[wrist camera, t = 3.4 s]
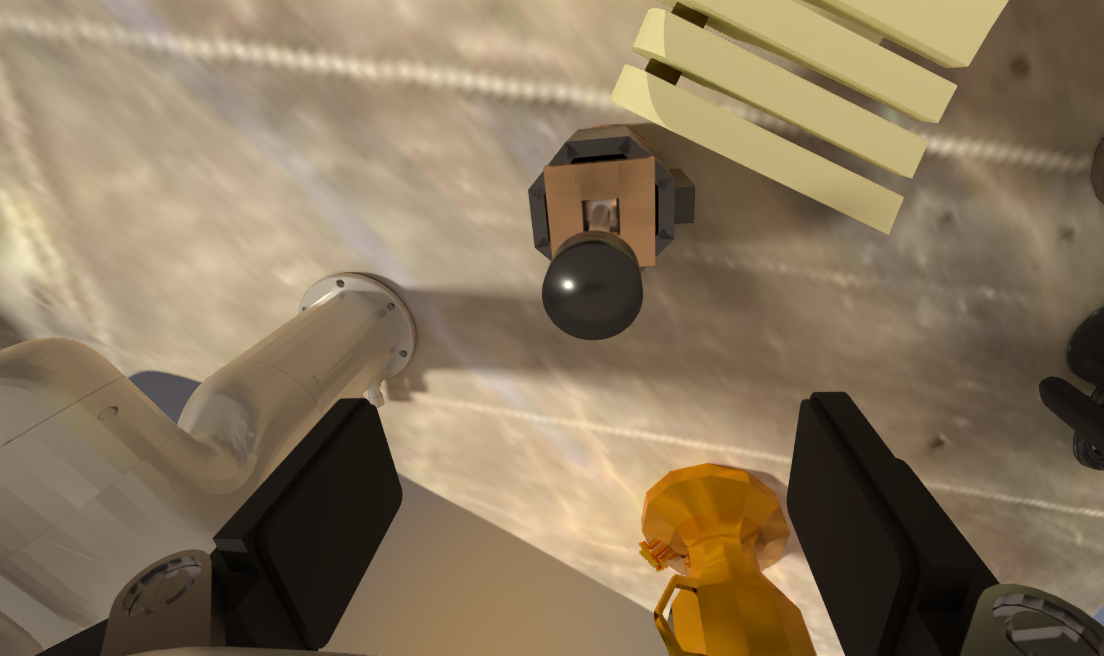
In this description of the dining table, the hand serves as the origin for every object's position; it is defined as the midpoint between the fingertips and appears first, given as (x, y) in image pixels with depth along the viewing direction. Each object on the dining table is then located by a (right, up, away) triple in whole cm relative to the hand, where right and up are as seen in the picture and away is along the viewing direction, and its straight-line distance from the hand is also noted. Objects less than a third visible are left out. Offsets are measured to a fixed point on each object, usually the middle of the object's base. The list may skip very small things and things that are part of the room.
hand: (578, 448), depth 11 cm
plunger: (+3, +11, +22) cm, 25 cm away
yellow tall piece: (+18, -21, +48) cm, 55 cm away
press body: (+4, +15, +32) cm, 36 cm away
